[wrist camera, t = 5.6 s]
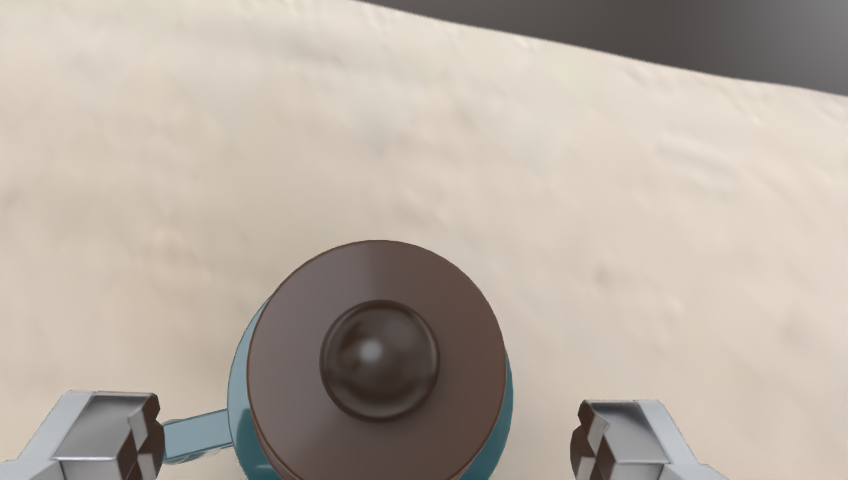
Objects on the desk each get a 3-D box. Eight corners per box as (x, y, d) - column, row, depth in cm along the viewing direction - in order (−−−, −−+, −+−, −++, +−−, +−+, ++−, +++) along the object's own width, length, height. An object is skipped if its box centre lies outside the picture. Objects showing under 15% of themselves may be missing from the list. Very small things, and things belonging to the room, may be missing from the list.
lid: (455, 251, 18) (528, 115, 10) (517, 475, 16) (667, 530, 8) (236, 299, 17) (119, 190, 9) (276, 545, 15) (175, 688, 7)
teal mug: (437, 289, 30) (479, 212, 19) (485, 471, 27) (565, 505, 16) (201, 343, 28) (94, 293, 17) (230, 544, 25) (128, 638, 14)
